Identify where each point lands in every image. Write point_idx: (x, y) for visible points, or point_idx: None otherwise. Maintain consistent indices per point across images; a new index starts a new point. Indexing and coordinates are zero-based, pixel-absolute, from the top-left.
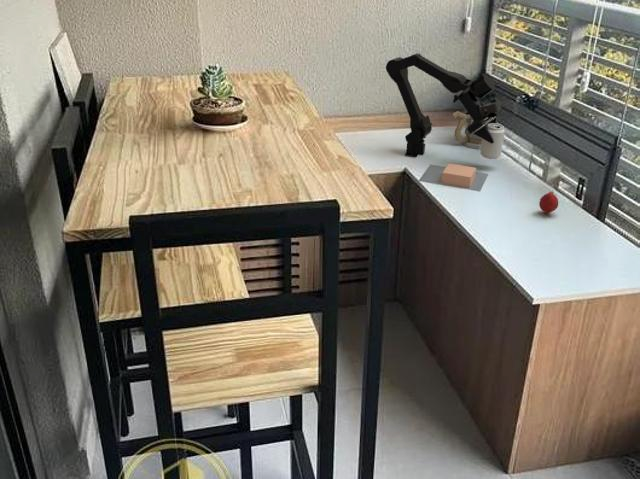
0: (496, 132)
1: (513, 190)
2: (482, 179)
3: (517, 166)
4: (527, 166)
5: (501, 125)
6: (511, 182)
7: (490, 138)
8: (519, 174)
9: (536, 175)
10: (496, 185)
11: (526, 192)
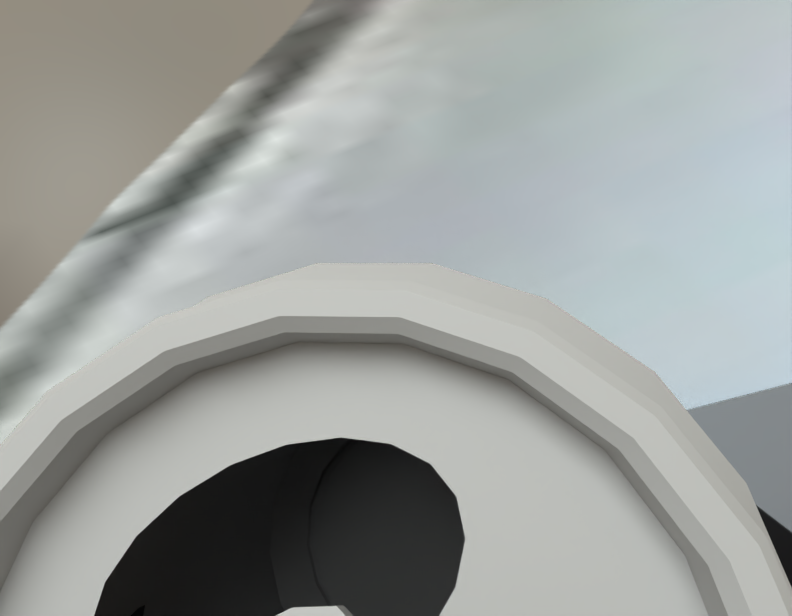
0: (698, 430)
1: (724, 116)
2: (789, 421)
3: (131, 323)
4: (81, 253)
5: (18, 492)
6: (557, 203)
7: (786, 552)
8: (318, 228)
9: (250, 115)
10: (736, 275)
11: (678, 26)
